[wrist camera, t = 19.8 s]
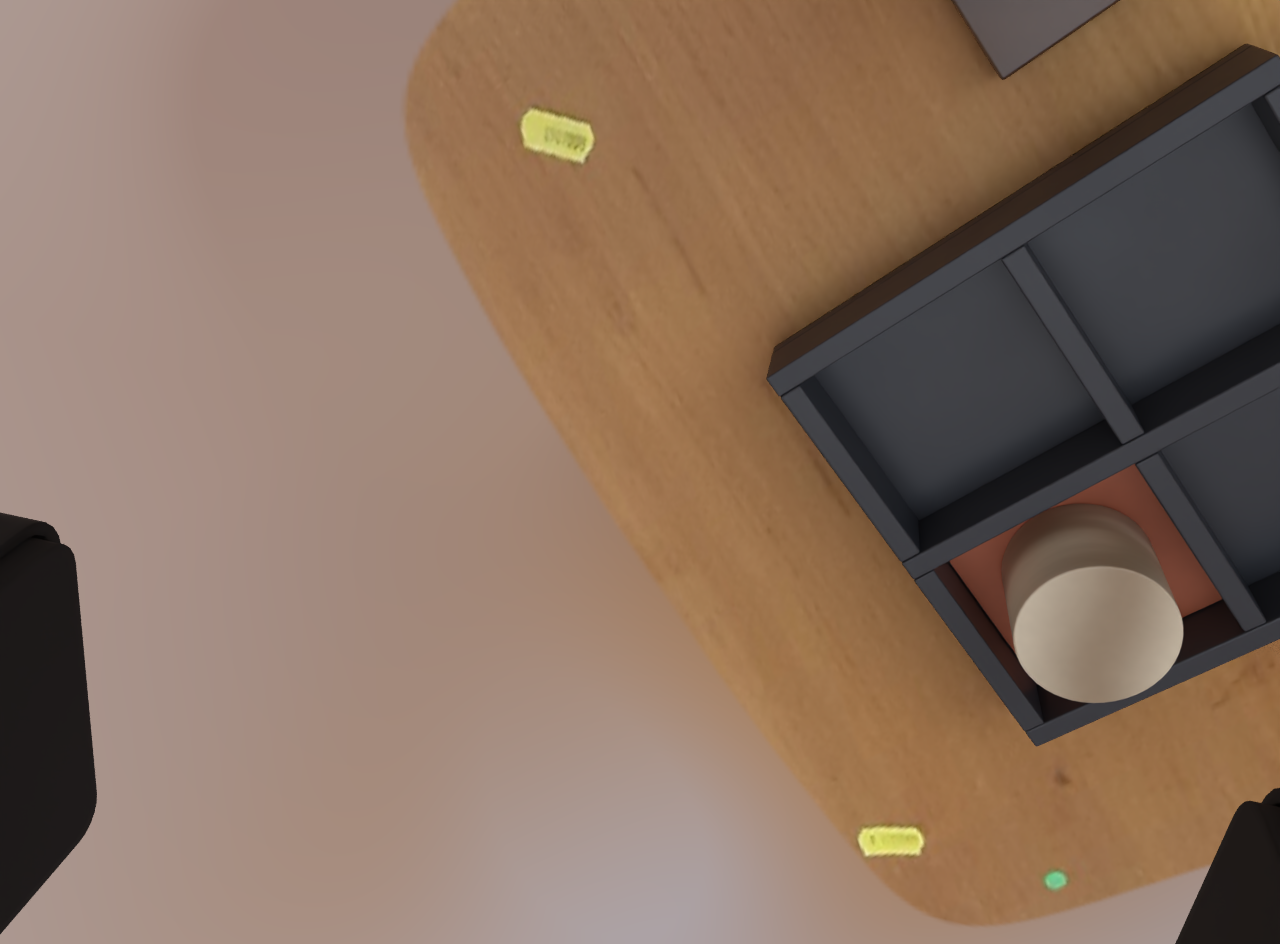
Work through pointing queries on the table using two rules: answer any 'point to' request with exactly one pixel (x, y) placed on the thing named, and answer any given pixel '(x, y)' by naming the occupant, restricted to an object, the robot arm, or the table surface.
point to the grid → (1080, 380)
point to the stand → (1024, 27)
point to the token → (1089, 604)
